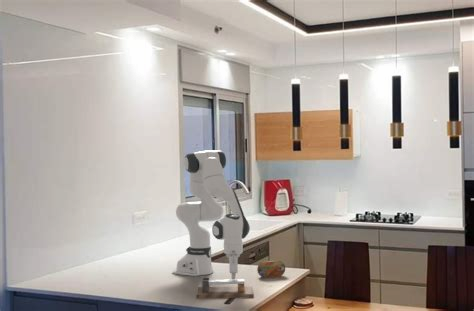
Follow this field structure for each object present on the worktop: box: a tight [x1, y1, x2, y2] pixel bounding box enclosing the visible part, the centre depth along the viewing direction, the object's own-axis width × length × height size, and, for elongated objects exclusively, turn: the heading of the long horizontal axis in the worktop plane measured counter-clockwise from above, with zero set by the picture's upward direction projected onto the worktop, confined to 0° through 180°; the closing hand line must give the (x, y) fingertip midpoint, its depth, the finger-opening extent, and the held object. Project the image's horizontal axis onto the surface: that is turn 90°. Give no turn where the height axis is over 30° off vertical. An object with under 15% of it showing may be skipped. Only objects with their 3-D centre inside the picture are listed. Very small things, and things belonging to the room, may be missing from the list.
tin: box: [256, 260, 286, 279], centre depth 284 cm, size 15×3×8 cm, turn 105°
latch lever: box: [209, 278, 245, 286], centre depth 251 cm, size 18×4×1 cm, turn 91°
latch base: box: [196, 276, 254, 299], centre depth 251 cm, size 26×14×7 cm, turn 91°
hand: (233, 278), depth 251 cm, fingers closed
